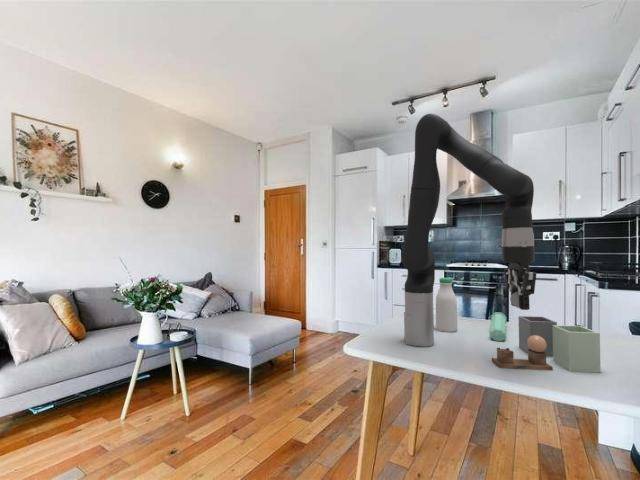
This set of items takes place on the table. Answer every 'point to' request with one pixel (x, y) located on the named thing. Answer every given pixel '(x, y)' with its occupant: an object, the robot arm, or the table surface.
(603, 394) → the table surface
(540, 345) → the terracotta ball
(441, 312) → the milk bottle
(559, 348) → the pair of storage bins
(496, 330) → the container
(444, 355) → the table surface
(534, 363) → the rack
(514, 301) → the grey ball
